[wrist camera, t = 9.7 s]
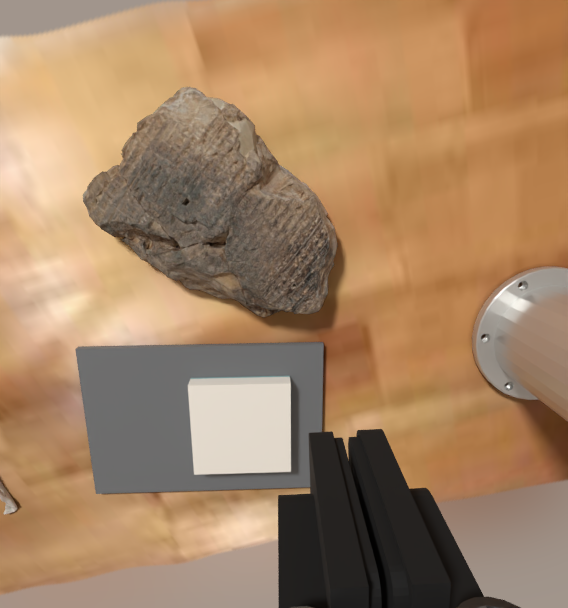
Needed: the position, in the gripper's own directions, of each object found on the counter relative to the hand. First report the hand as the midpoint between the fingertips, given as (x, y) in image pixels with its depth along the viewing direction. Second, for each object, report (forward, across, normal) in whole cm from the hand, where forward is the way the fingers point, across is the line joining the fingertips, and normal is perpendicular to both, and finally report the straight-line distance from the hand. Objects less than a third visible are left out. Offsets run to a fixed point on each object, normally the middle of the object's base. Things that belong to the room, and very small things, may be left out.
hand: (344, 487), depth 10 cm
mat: (+28, +9, +14) cm, 33 cm away
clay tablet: (+29, +5, -4) cm, 30 cm away
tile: (+27, +10, +14) cm, 32 cm away
